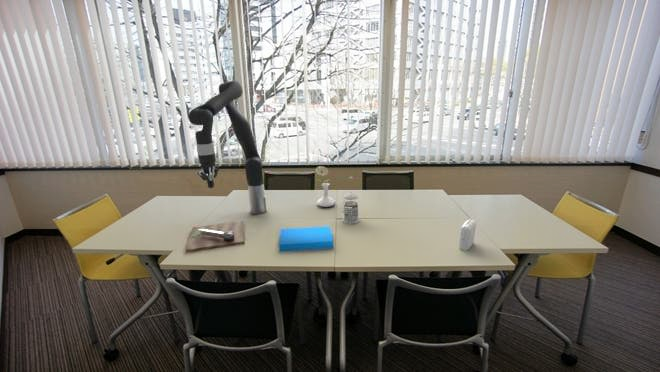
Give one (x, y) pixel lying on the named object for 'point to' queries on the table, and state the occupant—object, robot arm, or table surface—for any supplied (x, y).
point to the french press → (353, 212)
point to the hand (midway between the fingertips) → (211, 187)
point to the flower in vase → (325, 200)
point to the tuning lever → (218, 234)
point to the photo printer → (467, 235)
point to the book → (305, 239)
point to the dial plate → (209, 242)
